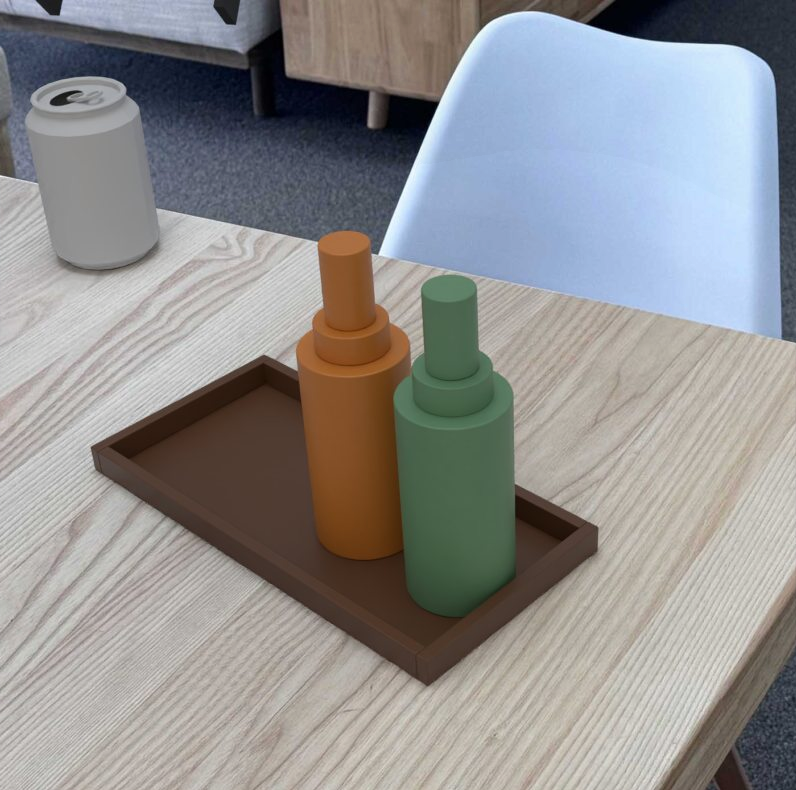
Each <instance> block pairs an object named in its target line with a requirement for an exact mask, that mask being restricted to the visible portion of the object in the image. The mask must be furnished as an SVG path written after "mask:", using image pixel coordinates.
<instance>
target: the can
mask: <svg viewBox="0 0 796 790" xmlns="http://www.w3.org/2000/svg"><path fill="white" fill-rule="evenodd" d="M29 101H30V104H31V105H32V107H31V108H30V109H29V112H28V113H27V114H26V117H25V120H24V125H25V129H26V134H27V138H28V139H27V140H28V144H29V148H30V152H31V157H32V161H33V166H34V171H35V175H36V180H37V185H38V189H39V193H40V198H41V203H42V208H43V212H44V216H45V222H46V227H47V231H48V235H49V241H50V243H51V244H50V245H51V248H52V250H53V252H54V254H55V255H56V256H58V257H59V258H60V259H62V260H65V262H68V263H69V264H71V265H73V266H75V267H77V268H81V269H84V270H93V271H94V270H96V271H101V270H112V269H116V268H121V267H126V266H128V265H131V264H133V263H136V262H137V261H139V260H141V259H142V258H144V257H145V256H146V255H147V254H148V253H149V251H150V250H151V249H152V248H153V247H154V246H155V245H156V243H157V242H158V241H159V239H160V234H161V230H160V223H159V217H158V212H157V205H156V199H155V194H154V188H153V183H152V177H151V170H150V164H149V157H148V152H147V147H146V141H145V135H144V128H143V123H142V117H141V111H140V106H139V104H138V103H136V101H135V100H133V99H132V98H131V97H130V96H128V95H127V87H126V86H125V85H124V83H122V82H120V81H118V80H116V79H114V78H110V77H104V76H75V77H69V78H63V79H60V80H56V81H53V82H50V83H47V84H45V85H43V86H41V87H39V88H38V89H36V90H35V91H34V92H33V93H32V94H31V96H30V99H29Z"/></svg>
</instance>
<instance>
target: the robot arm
mask: <svg viewBox="0 0 796 790" xmlns="http://www.w3.org/2000/svg"><path fill="white" fill-rule="evenodd" d="M34 1H35V2H36V3H37V4H38V5H39V6H40V7H41V8H42V9H43V10H44V11H45V12H46V13H47V14H48V15H49V16H54V17H60V16H61V11H62V6H63V1H64V0H34ZM240 4H241V0H213V5H212V8H213V9H214V10H215V12H216V13H217V15H219V17H220V19H221V20H222V21H223V22H224V24H225V25H228V26H229V25H230V26H237V22H238V16H239V10H240Z"/></svg>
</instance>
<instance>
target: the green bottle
mask: <svg viewBox="0 0 796 790" xmlns="http://www.w3.org/2000/svg"><path fill="white" fill-rule="evenodd" d="M420 300H421V319H422V335H423V338H422V340H423V352H422V353H421V354H419V355H418V356H417V357H416V358H415V359H414V361H413V363H412V364H411V367H412V374H411V375H409V376H408V377H406V378H405V379H404V380H403V381H402V382H401V383H400V384H399V385H398V387H397V388H396V390H395V393H394V397H393V404H394V418H395V432H396V446H397V460H398V474H399V488H400V502H401V517H402V531H403V545H404V559H405V573H406V585H407V590H408V592H409V594H410V596H411V598H412V599H413V600H414V601H415V602H416V603H417V604H418V605H419V606H420V607H422V608H423V609H425V610H427V611H429V612H431V613H434V614H437V615H441V616H446V617H454V618H464V617H466V616H467V615H468V614H469V613H471V612H472V611H473V610H475V609H476V608H477V607H478V606H480V605H481V604H482V603H484V602H485V601H486V600H487V599H489V598H490V597H491V596H493V595H494V594H495V593H497V592H498V591H499V590H500V589H502V588H503V587H504V586H506V585H507V584H508V583H509V582H511V581H512V580H513V579H515V578H516V544H515V484H516V483H515V481H516V480H515V479H516V478H515V475H516V473H515V407H514V406H515V405H514V404H515V401H514V395H515V393H514V390H513V387H512V385H511V384H510V382H509V381H508V380H507V379H506V378H505V377H504V376H503V375H501V374H500V373H498V372H497V371H494V365H493V362H492V359H491V358H490V357H489V355H487V354H486V353H484V352H483V351H481V350H480V344H479V343H480V340H479V308H478V307H479V306H478V304H479V303H478V286H477V284H476V282H475V281H474V280H473V279H471V278H470V277H468V276H465V275H460V274H441V275H436V276H433V277H431V278H429V279H427V280H426V281H424V283H423V284H422V285H421V287H420Z"/></svg>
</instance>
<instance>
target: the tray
mask: <svg viewBox="0 0 796 790" xmlns="http://www.w3.org/2000/svg"><path fill="white" fill-rule="evenodd" d="M89 448H90V453H91V456H92V462H93V465H94V469H95V471H97V472H98V473H100V474H102V475H103V476H105V477H106V478H108V479H109V480H110V481H112V482H114V483H115V484H117V485H119V486H120V487H121V488H123V489H125V490H126V491H128V492H129V493H131V494H132V495H134V496H136V497H137V498H138V499H139V500H141V501H143V502H145V503H146V504H147V505H149V506H151V508H154V509H155V510H157V511H159V512H160V513H161V514H163V515H164V516H166V517H168V518H169V519H170V520H172V521H173V522H175V523H177V524H178V525H180V526H182V528H184V529H186V530H187V531H189V532H191V533H192V534H193V535H195V536H197V537H198V538H199V539H201V540H203V541H204V542H206V543H207V544H209V545H211V546H212V547H214V548H215V549H216V550H218V551H220V552H221V553H223V554H225V556H227V557H229V558H230V559H232V560H233V561H235V562H237V563H238V564H240V565H241V566H243V568H246V569H247V570H249V571H250V572H252V573H253V574H255V575H256V576H258V577H259V578H261V579H263V580H264V581H266V582H267V583H268V584H270V585H272V586H273V587H275V588H276V589H278V590H280V592H282V593H284V594H285V595H287V596H288V597H290V598H292V600H295V601H296V602H297V603H299V604H301V605H303V606H304V607H306V608H307V609H309V610H310V611H312V612H313V613H315V614H316V615H318V616H319V617H321V618H322V619H324V620H325V621H327V622H328V623H331V625H333V626H335V627H336V628H338V629H339V630H341V631H342V632H344V633H346V634H347V635H348V636H350V637H351V638H352V639H355V640H356V641H358V642H359V643H360V644H362V645H364V646H365V647H367V648H368V649H370V650H371V651H373V652H374V653H376V654H378V655H379V656H381V657H382V658H383V659H385V660H386V661H389V662H390V663H392V664H393V665H394V666H396V667H398V668H399V669H401V670H402V671H404V672H405V673H407V674H408V675H410V676H411V677H414V678H415V679H416V680H417V681H419V682H421V683H422V684H424V685H425V686H427V687H429V686H431V685H433V683H435V682H436V681H437V680H438V679H440V678H441V677H442V676H444V675H445V674H446V673H448V671H450V670H451V669H452V668H453V667H454V666H456V665H457V664H458V663H460V662H461V661H462V660H463V659H464V658H466V657H467V656H468V655H470V654H471V653H472V652H473V651H475V650H476V649H477V648H479V647H480V646H481V645H482V644H483V643H484V642H486V641H487V640H488V639H490V638H491V637H492V636H493V635H495V634H496V633H497V632H498V631H500V630H501V629H502V628H503V627H505V626H506V625H507V624H508V623H510V621H512V620H513V619H515V618H516V617H517V616H518V615H519V614H521V613H523V611H525V610H526V609H527V608H528V607H529V606H531V605H532V604H533V603H534V602H535V601H537V600H538V599H539V598H540V597H542V596H543V595H544V594H546V593H547V592H548V591H549V590H550V589H552V588H553V587H554V586H556V585H557V584H558V583H560V582H561V581H562V580H563V579H564V578H566V577H567V576H568V575H569V574H571V573H572V572H573V571H575V570H576V569H577V568H578V567H579V566H581V565H582V564H583V563H584V562H586V561H587V560H588V559H589V558H591V557H592V556H593V555H594V554H596V553H597V552H598V549H599V526H597V525H596V524H594V523H592V522H590V521H587V520H586V519H584V518H582V517H580V516H579V515H576V514H574V513H573V512H570V511H569V510H567V509H565V508H563V507H561V506H559V505H557V504H555V503H553V502H551V501H549V500H547V499H546V498H544V497H541V496H539V494H536V493H534V492H532V491H530V490H529V489H526V488H524V487H523V486H520V485H518V484H516V483H515V544H516V578H515V579H513V580H512V581H511V582H509V583H508V584H507V585H506V586H504V587H503V588H502V589H500V590H499V591H498V592H497V593H495V594H494V595H493V596H491V597H490V598H489V599H487V600H486V601H485V602H484V603H482V604H481V605H480V606H478V607H477V608H476V609H475V610H473V611H472V612H471V613H469V614H468V615H467V616H466V617H464V618H454V617H446V616H441V615H437V614H434V613H431V612H429V611H427V610H425V609H423V608H422V607H420V606H419V605H418V604H417V603H416V602H415V601H414V600H413V599H412V598H411V596H410V594H409V592H408V590H407V585H406V573H405V559H404V549H403V550H402V551H400V552H398V553H396V554H393V555H391V556H388V557H384V558H380V559H373V560H354V559H348V558H344V557H341V556H338V555H336V554H334V553H332V552H330V551H329V550H327V549H326V548H325V547H324V546H323V545H322V544H321V542H320V541H319V539H318V537H317V533H316V524H315V516H314V507H313V498H312V490H311V481H310V472H309V463H308V455H307V446H306V437H305V429H304V420H303V411H302V402H301V394H300V385H299V376H298V370H296V369H294V368H292V367H291V366H288V365H286V364H285V363H282V362H281V361H279V360H277V359H275V358H273V357H271V356H269V355H267V354H262V355H260V356H258V357H256V358H254V359H253V360H251V361H249V362H246V363H244V364H243V365H241V366H239V367H237V368H236V369H234V370H232V371H230V372H228V373H226V374H224V375H222V376H220V377H218V378H217V379H215V380H213V381H211V382H209V383H208V384H205V385H203V386H202V387H199V388H198V389H196V390H194V391H192V392H190V393H189V394H187V395H185V396H183V397H181V398H179V399H178V400H176V401H173V402H172V403H170V404H168V405H166V406H164V407H162V408H160V409H158V410H156V411H154V412H152V413H151V414H149V415H147V416H145V417H143V418H141V419H140V420H137V421H135V422H134V423H132V424H130V425H128V426H126V427H125V428H122V429H121V430H119V431H117V432H115V433H114V434H111V435H109V436H108V437H106V438H104V439H102V440H100V441H98V442H96V443H95V444H92V445H91V446H90V447H89Z"/></svg>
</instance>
